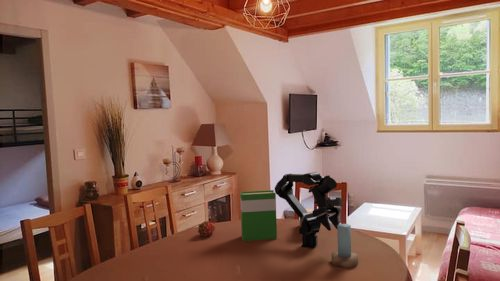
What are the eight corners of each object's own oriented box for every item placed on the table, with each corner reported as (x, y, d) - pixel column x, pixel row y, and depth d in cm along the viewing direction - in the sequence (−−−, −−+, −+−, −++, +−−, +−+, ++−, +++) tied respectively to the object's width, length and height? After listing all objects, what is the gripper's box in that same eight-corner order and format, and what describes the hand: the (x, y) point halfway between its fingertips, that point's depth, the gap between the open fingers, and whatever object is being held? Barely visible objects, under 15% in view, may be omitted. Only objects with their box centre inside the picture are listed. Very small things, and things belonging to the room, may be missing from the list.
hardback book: (274, 234, 199) (273, 190, 198) (276, 238, 192) (275, 193, 190) (241, 236, 198) (240, 191, 196) (242, 241, 190) (241, 194, 188)
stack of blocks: (301, 224, 215) (300, 203, 214) (311, 224, 214) (311, 203, 213) (300, 237, 194) (299, 213, 193) (312, 237, 193) (311, 214, 192)
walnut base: (328, 265, 157) (328, 258, 156) (335, 255, 166) (334, 249, 166) (355, 269, 152) (355, 262, 152) (360, 259, 162) (360, 252, 161)
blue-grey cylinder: (335, 255, 159) (334, 225, 158) (343, 252, 163) (342, 223, 162) (346, 259, 155) (345, 228, 154) (353, 255, 159) (353, 225, 158)
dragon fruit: (201, 242, 194) (208, 238, 206) (214, 233, 193) (220, 229, 205) (192, 229, 196) (200, 225, 208) (205, 219, 195) (212, 216, 207)
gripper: (326, 189, 160) (341, 223, 154) (343, 191, 175) (357, 222, 169) (305, 199, 165) (319, 233, 159) (324, 200, 180) (337, 231, 174)
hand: (334, 230), depth 165 cm, fingers open, 9 cm apart
